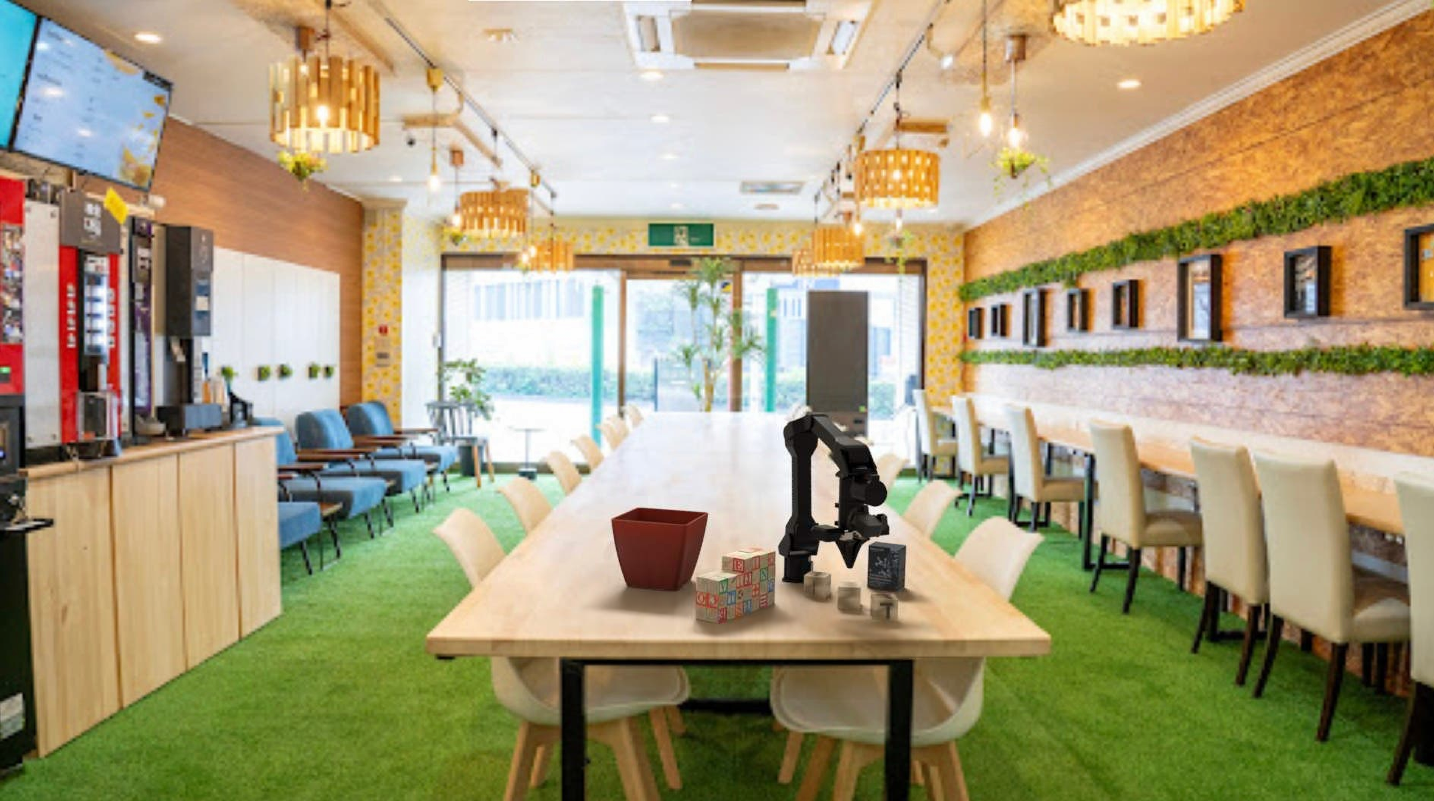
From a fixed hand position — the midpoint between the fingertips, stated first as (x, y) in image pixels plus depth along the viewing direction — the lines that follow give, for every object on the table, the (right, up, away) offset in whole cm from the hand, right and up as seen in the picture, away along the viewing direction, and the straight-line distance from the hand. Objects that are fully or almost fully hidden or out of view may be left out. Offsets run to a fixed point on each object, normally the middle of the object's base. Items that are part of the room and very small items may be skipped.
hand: (849, 568), depth 214 cm
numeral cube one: (-6, -8, +10) cm, 14 cm away
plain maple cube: (0, -9, 0) cm, 9 cm away
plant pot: (-44, -7, +18) cm, 48 cm away
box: (+11, -8, +18) cm, 22 cm away
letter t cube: (+6, -9, -9) cm, 14 cm away
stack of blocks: (-26, -9, -5) cm, 28 cm away
